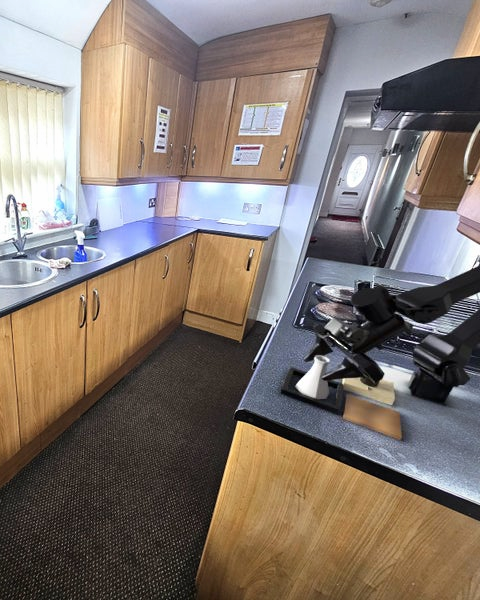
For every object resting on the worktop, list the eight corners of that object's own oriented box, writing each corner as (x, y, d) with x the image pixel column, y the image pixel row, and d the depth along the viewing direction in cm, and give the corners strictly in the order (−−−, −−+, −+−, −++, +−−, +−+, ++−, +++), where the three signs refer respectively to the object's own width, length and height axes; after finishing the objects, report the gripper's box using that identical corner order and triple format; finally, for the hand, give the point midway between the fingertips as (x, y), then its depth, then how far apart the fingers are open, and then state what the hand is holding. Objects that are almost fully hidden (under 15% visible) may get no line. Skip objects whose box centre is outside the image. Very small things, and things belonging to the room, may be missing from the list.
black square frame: (342, 388, 86) (344, 384, 85) (338, 415, 77) (340, 410, 76) (288, 370, 93) (289, 366, 92) (279, 393, 84) (281, 388, 84)
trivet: (398, 414, 77) (399, 411, 77) (400, 440, 70) (401, 437, 70) (345, 396, 83) (346, 393, 83) (342, 418, 76) (343, 416, 76)
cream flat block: (390, 389, 86) (393, 382, 85) (391, 405, 80) (395, 398, 79) (343, 374, 91) (345, 368, 90) (341, 388, 86) (344, 382, 85)
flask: (288, 386, 87) (298, 354, 83) (307, 379, 89) (317, 348, 85) (316, 403, 81) (328, 370, 77) (334, 395, 83) (347, 363, 79)
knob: (360, 376, 87) (365, 363, 85) (377, 382, 85) (383, 368, 83) (359, 383, 85) (365, 369, 83) (377, 388, 82) (384, 375, 81)
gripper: (331, 294, 84) (276, 331, 89) (390, 330, 67) (318, 372, 72) (352, 322, 87) (298, 356, 92) (414, 363, 70) (344, 402, 75)
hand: (312, 369), depth 82 cm, fingers open, 7 cm apart
